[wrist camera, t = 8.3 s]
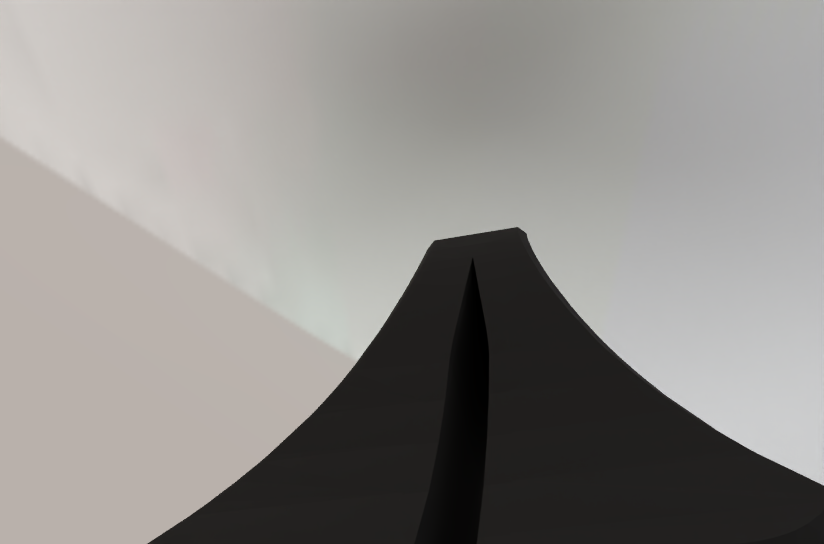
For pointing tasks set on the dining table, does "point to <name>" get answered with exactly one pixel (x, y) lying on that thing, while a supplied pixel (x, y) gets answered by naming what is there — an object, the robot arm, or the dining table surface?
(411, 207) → the dining table surface
